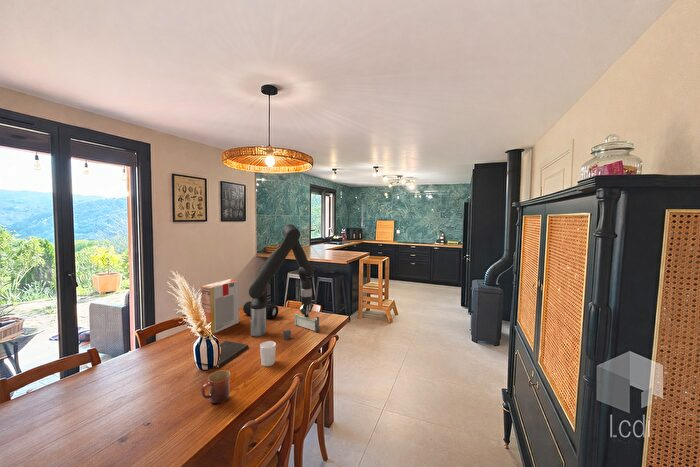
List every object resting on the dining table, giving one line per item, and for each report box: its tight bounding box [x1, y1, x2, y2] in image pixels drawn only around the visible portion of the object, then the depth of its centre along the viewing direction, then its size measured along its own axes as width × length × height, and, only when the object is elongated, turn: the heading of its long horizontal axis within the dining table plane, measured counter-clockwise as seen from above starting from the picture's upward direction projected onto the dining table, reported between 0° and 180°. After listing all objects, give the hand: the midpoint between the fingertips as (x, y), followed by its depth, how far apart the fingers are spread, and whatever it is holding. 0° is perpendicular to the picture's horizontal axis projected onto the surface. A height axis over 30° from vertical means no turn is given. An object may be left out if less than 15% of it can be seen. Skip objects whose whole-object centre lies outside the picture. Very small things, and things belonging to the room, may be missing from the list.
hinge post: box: [314, 316, 320, 334], centre depth 188 cm, size 2×2×10 cm
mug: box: [200, 369, 232, 404], centre depth 118 cm, size 12×9×10 cm
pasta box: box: [200, 278, 240, 335], centre depth 192 cm, size 23×8×30 cm, turn 156°
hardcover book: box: [216, 340, 249, 369], centre depth 156 cm, size 16×23×2 cm
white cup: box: [259, 340, 277, 367], centre depth 148 cm, size 8×8×10 cm
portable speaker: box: [242, 300, 280, 319], centre depth 215 cm, size 26×10×10 cm, turn 71°
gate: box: [294, 313, 315, 332], centre depth 194 cm, size 18×2×7 cm, turn 55°
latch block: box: [282, 328, 292, 340], centre depth 178 cm, size 4×2×5 cm, turn 112°
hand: (306, 319), depth 198 cm, fingers closed
